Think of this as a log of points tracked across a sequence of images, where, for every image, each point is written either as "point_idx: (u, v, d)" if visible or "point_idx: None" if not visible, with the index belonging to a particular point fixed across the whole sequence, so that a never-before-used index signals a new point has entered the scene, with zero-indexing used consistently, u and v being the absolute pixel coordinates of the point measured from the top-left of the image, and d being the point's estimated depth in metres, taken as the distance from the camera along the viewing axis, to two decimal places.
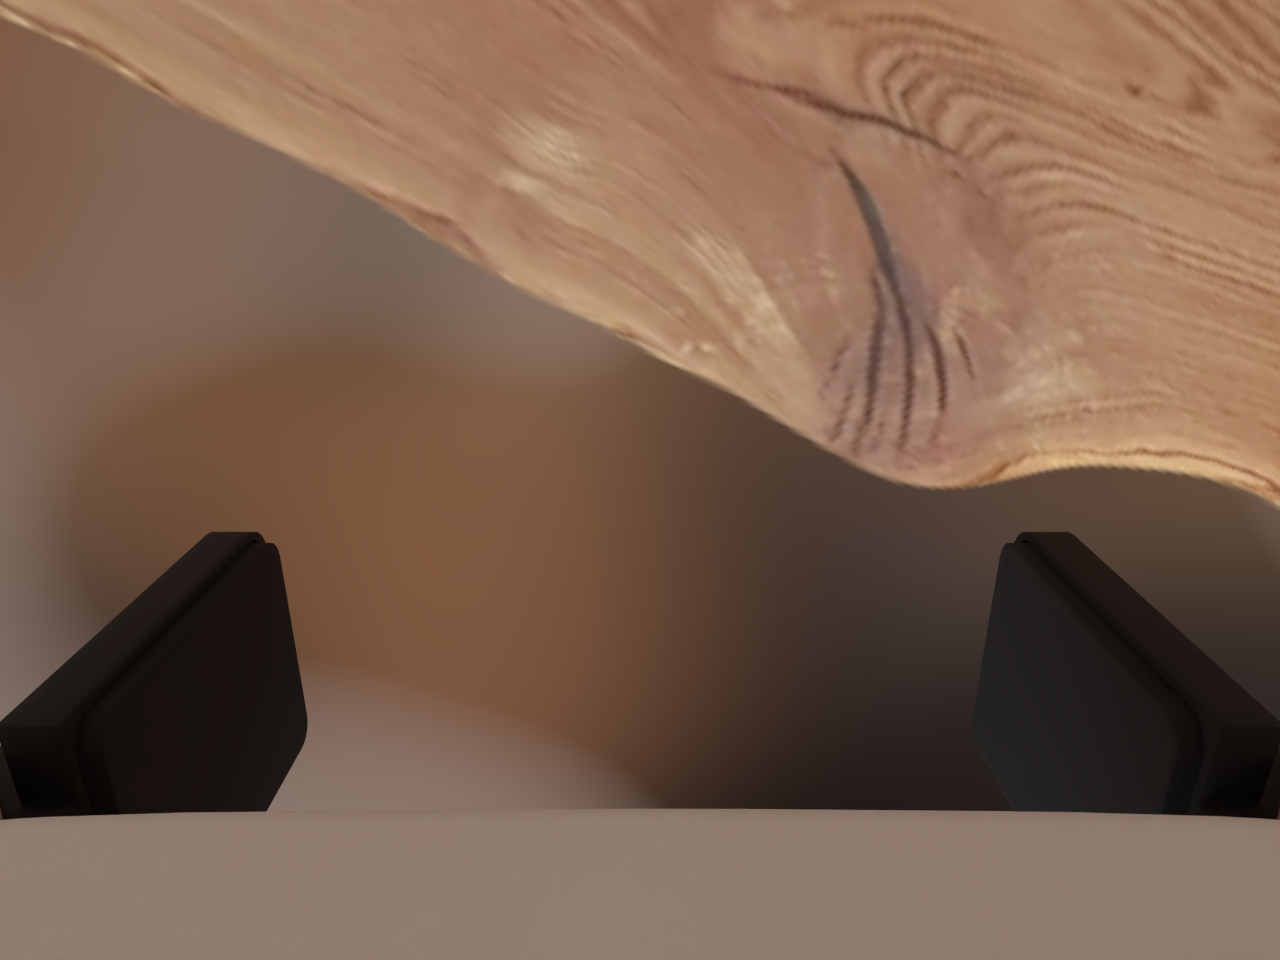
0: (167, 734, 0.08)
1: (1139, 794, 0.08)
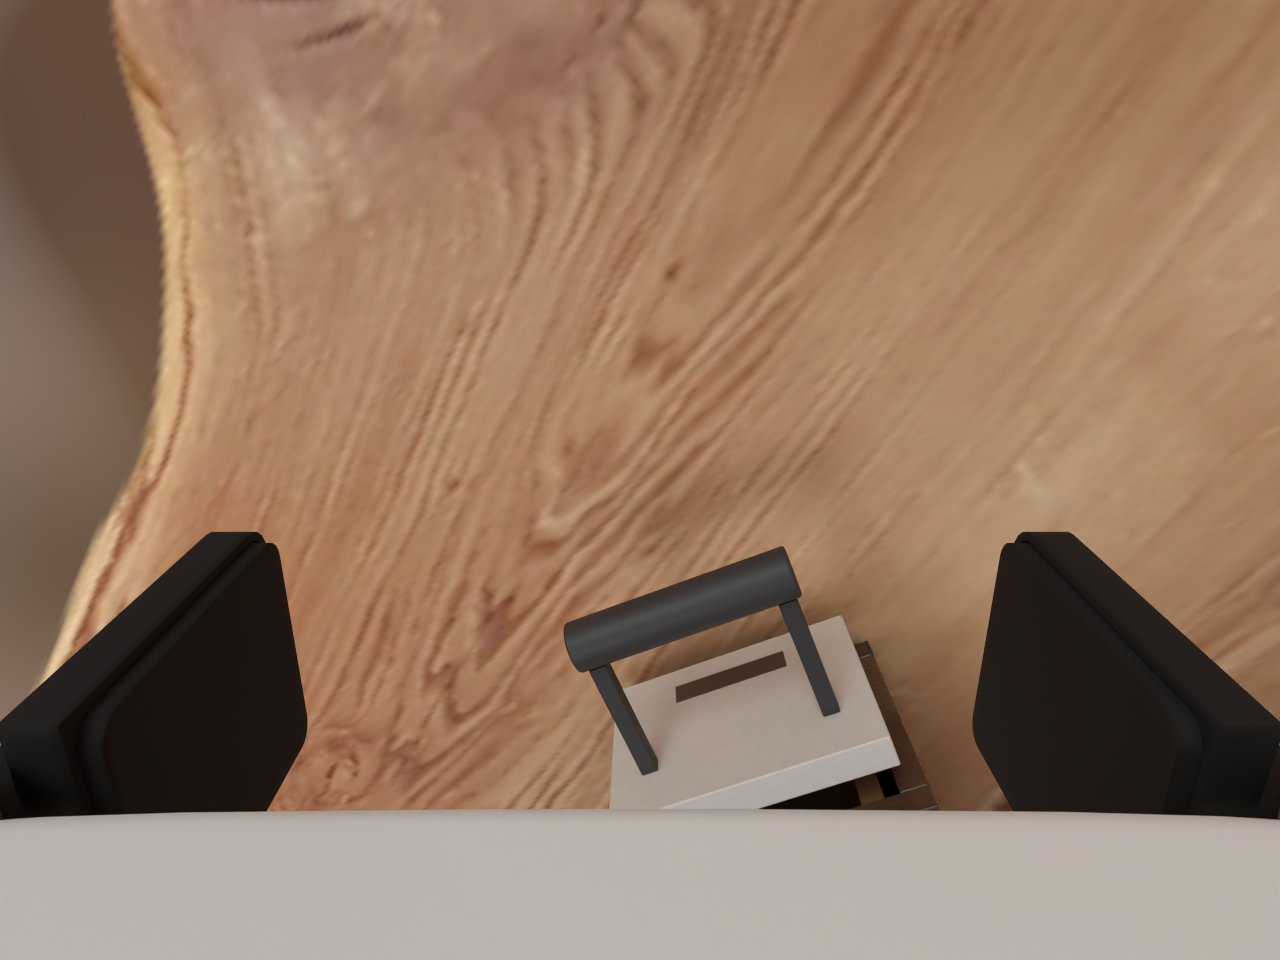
0: (167, 734, 0.08)
1: (1139, 794, 0.08)
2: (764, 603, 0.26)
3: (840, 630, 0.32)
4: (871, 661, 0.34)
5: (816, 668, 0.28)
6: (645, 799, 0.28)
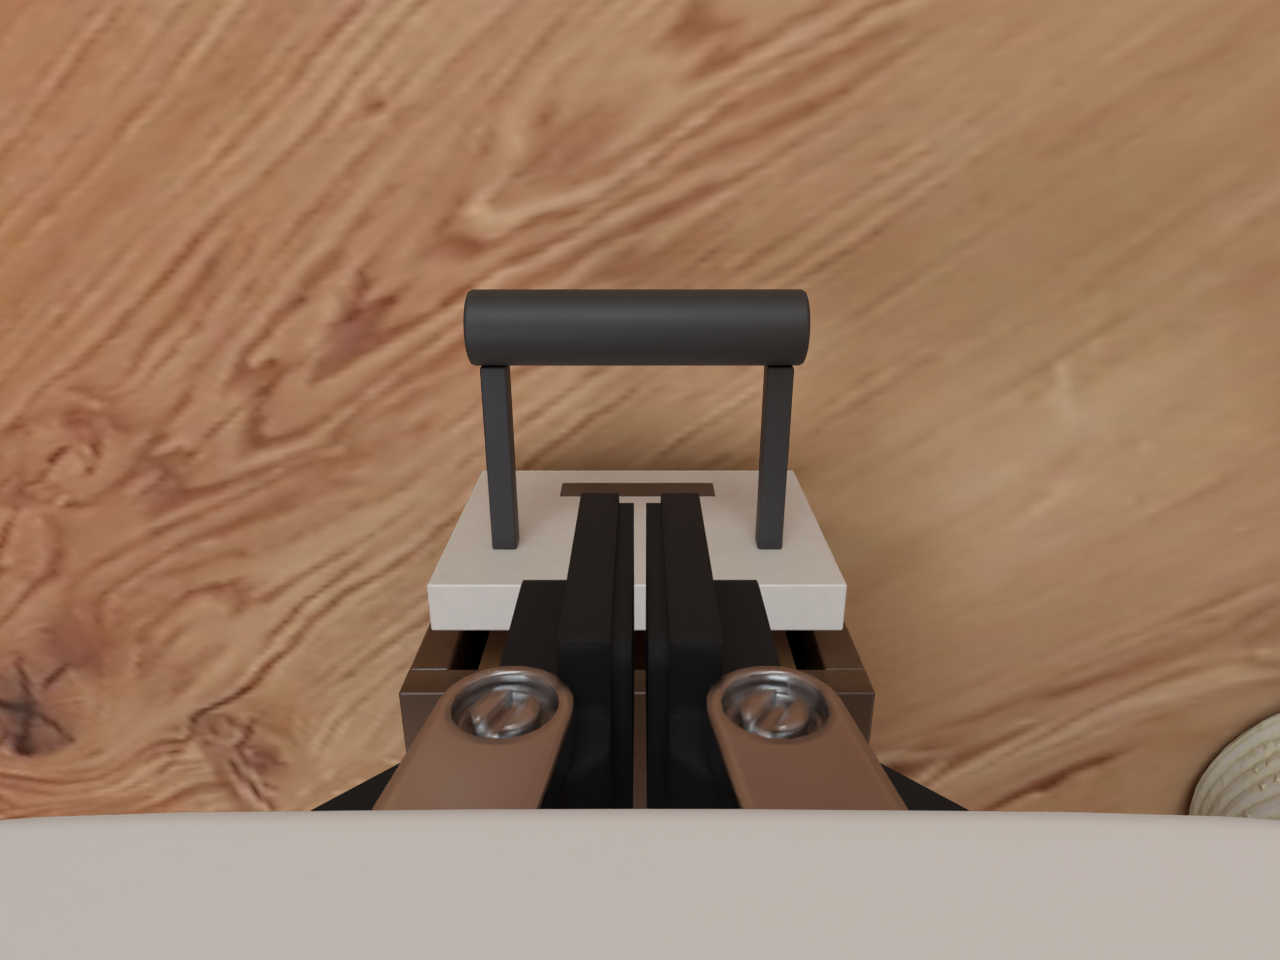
0: (632, 660, 0.09)
1: None
2: (756, 348, 0.19)
3: (790, 482, 0.25)
4: None
5: (777, 476, 0.20)
6: (490, 571, 0.20)
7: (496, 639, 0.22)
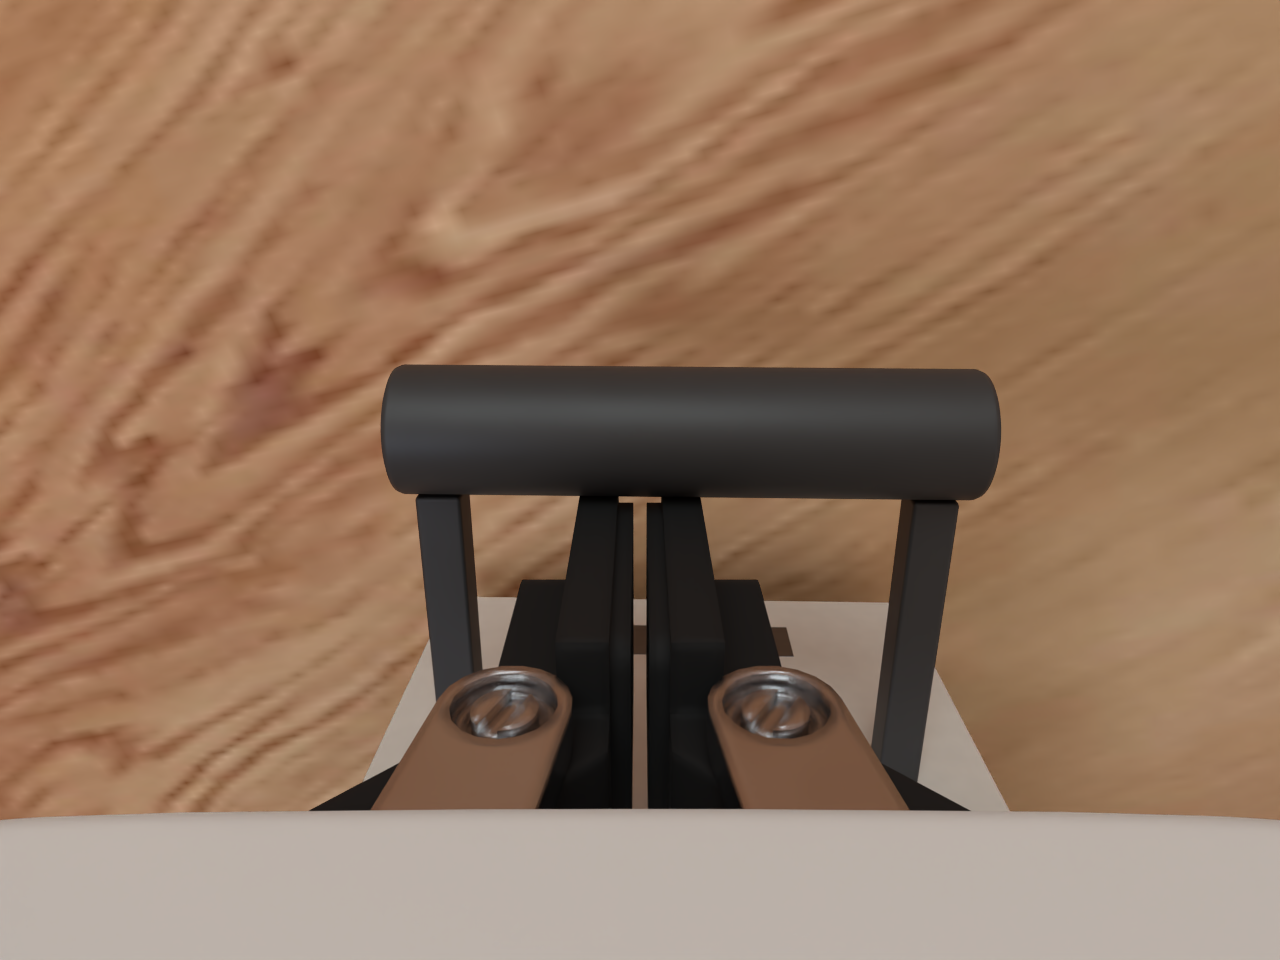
0: (631, 660, 0.09)
1: None
2: (901, 478, 0.10)
3: None
4: None
5: (918, 676, 0.12)
6: None
7: None
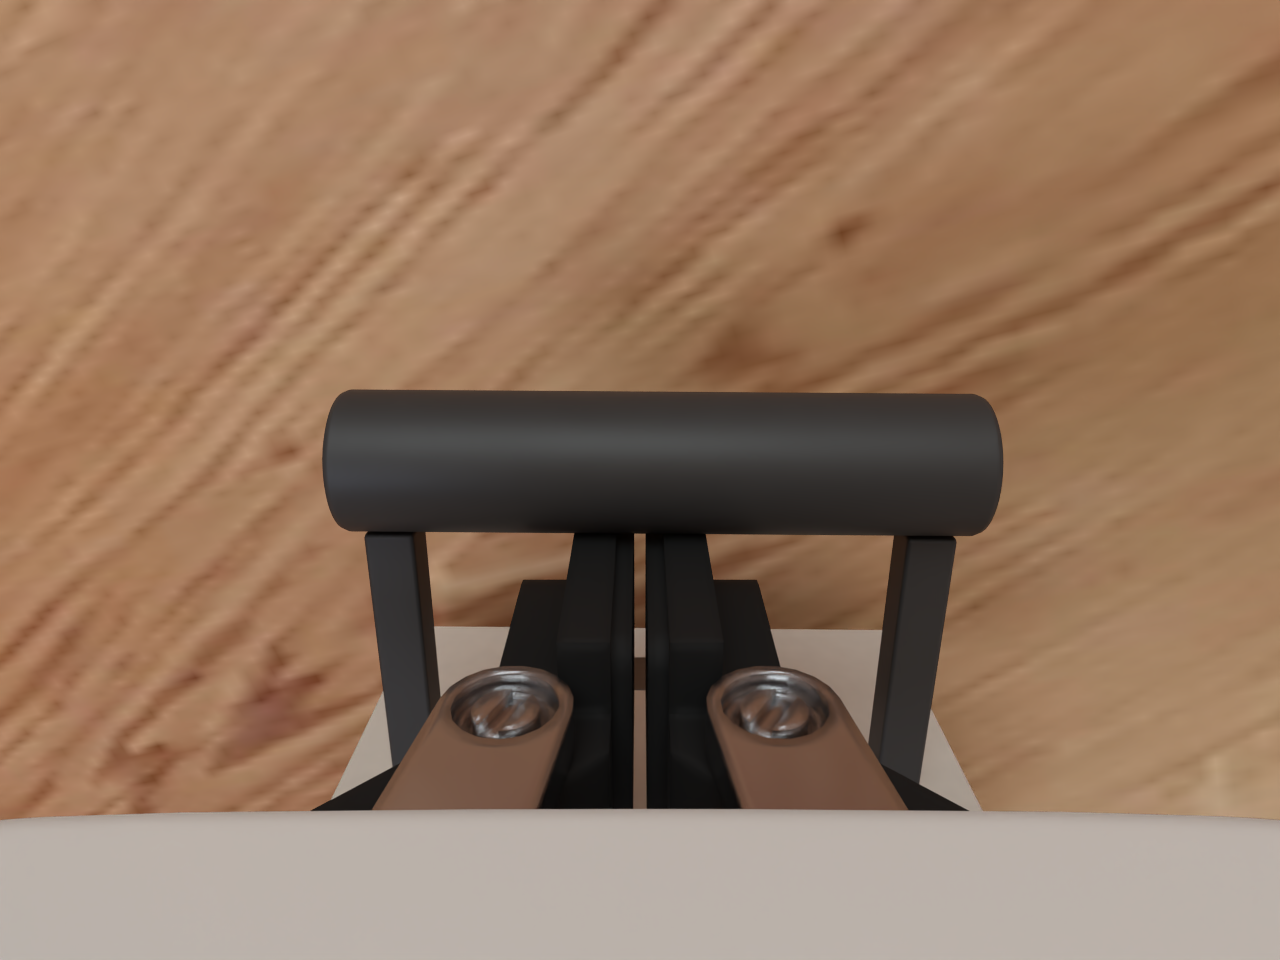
0: (632, 660, 0.09)
1: None
2: (894, 514, 0.10)
3: None
4: None
5: (912, 723, 0.11)
6: None
7: None
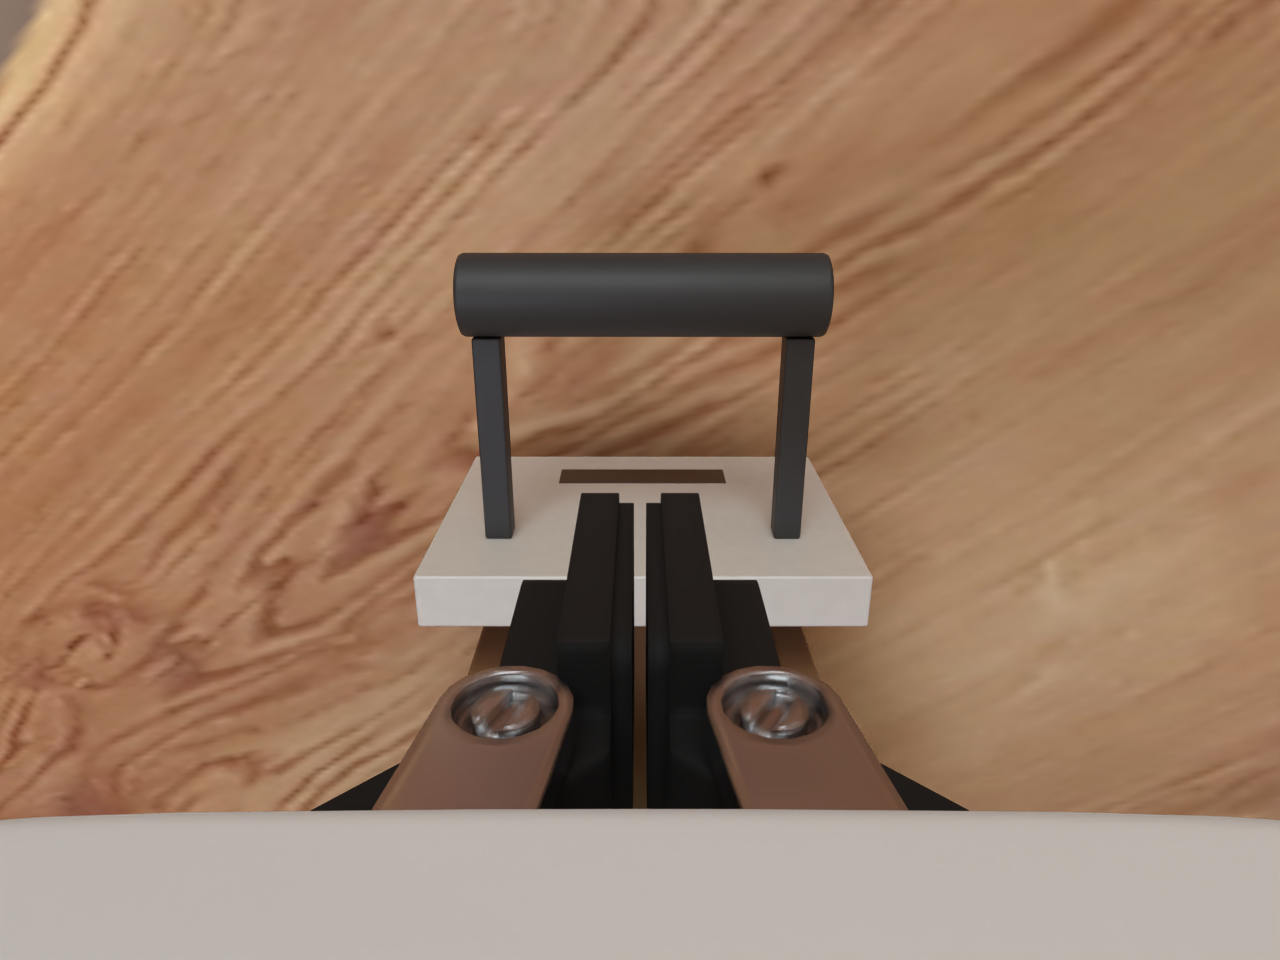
0: (632, 661, 0.09)
1: None
2: (774, 317, 0.17)
3: (806, 469, 0.24)
4: None
5: (796, 459, 0.19)
6: (482, 562, 0.18)
7: (490, 636, 0.21)
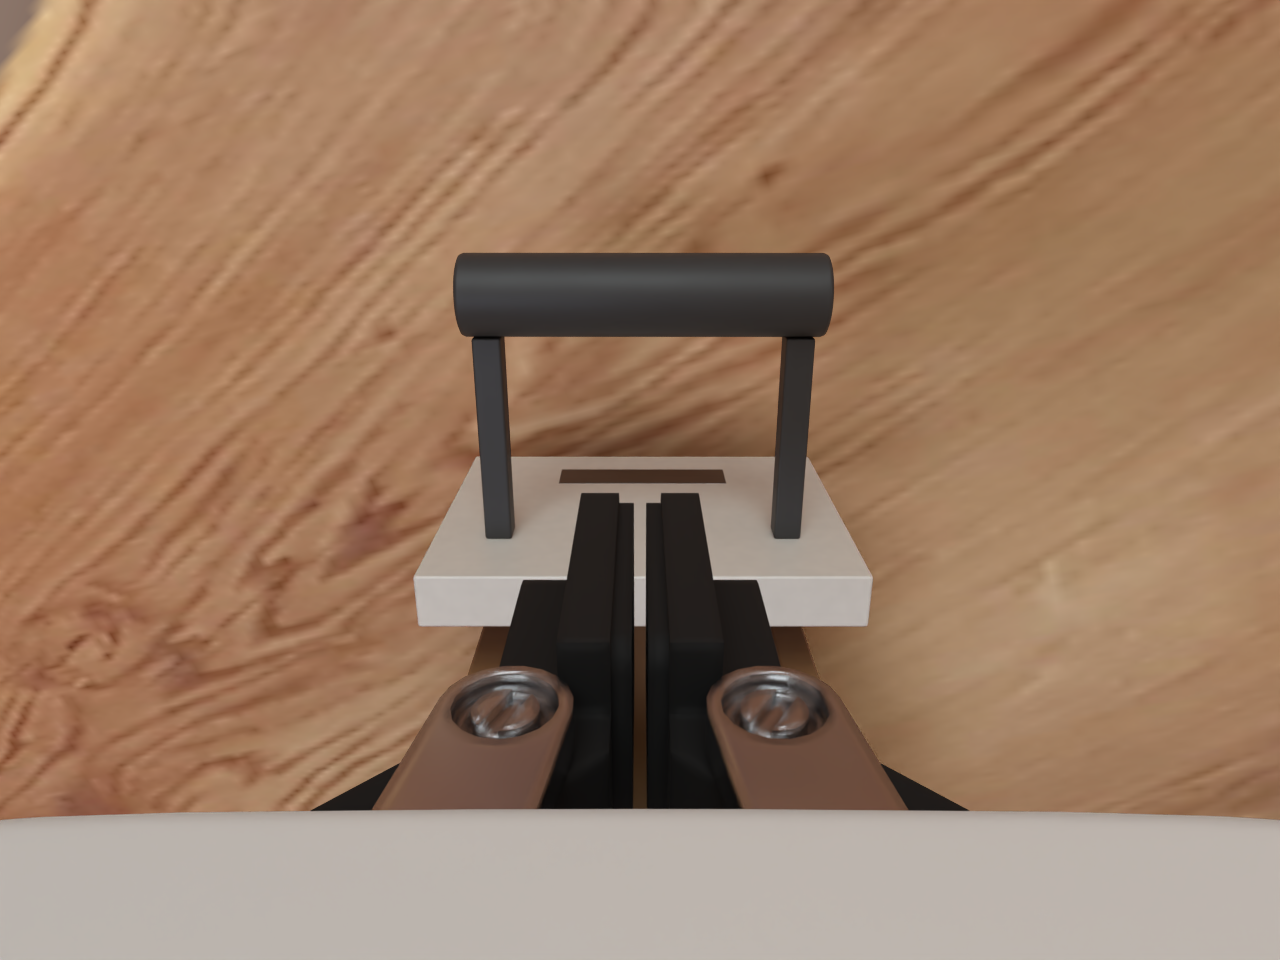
0: (632, 661, 0.09)
1: None
2: (774, 317, 0.17)
3: (806, 469, 0.24)
4: None
5: (796, 459, 0.19)
6: (482, 562, 0.18)
7: (490, 636, 0.21)
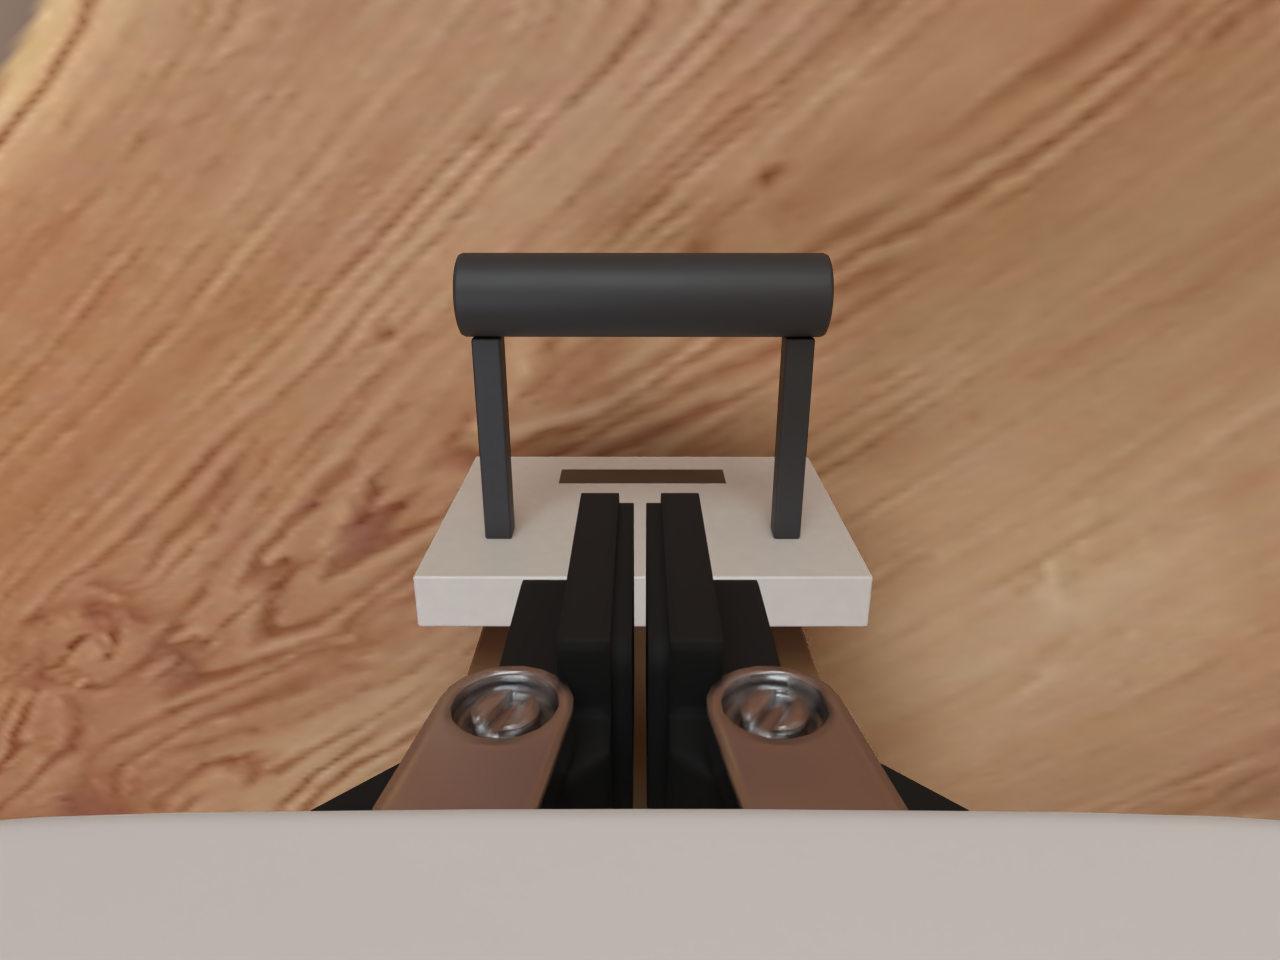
0: (632, 661, 0.09)
1: None
2: (774, 317, 0.17)
3: (806, 469, 0.24)
4: None
5: (796, 459, 0.19)
6: (482, 562, 0.18)
7: (490, 636, 0.21)
